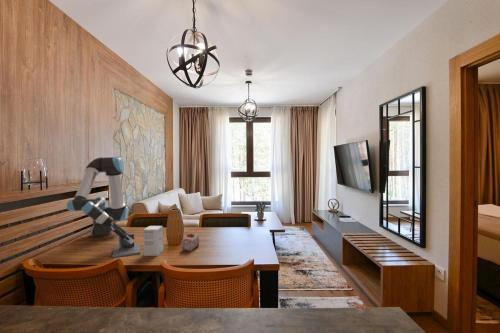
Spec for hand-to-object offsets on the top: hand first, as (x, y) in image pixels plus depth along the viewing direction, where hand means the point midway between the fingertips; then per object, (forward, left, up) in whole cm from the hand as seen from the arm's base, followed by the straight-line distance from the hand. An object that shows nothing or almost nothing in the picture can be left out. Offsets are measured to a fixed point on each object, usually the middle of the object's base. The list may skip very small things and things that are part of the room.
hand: (132, 241), depth 177 cm
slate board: (+4, -4, -5) cm, 7 cm away
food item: (+17, +36, -5) cm, 40 cm away
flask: (0, -4, -4) cm, 6 cm away
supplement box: (+16, +12, -5) cm, 21 cm away
